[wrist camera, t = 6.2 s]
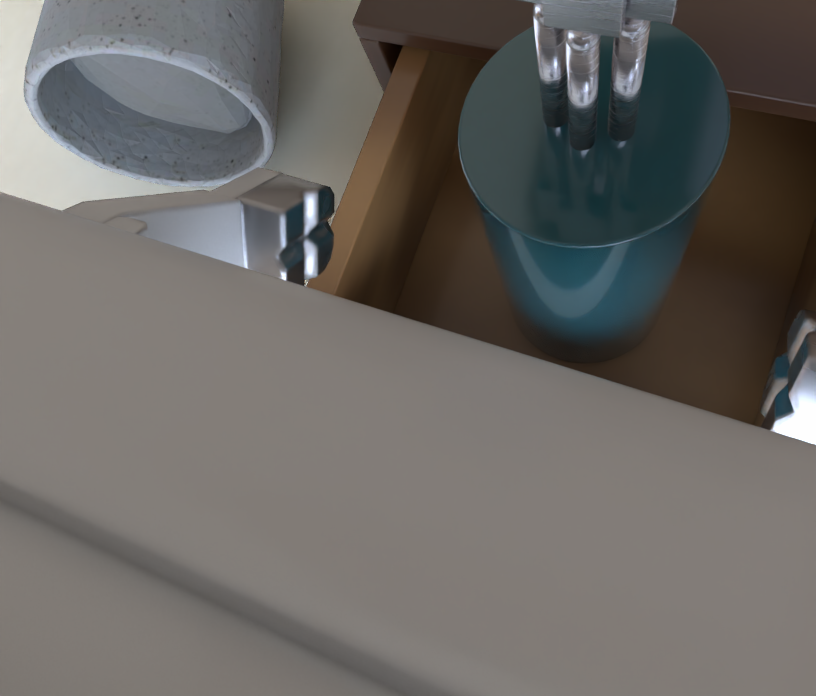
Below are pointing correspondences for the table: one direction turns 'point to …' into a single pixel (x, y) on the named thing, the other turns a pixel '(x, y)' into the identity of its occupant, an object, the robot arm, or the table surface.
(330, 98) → the table surface
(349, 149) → the table surface
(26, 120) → the table surface
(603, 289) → the cutlery cup
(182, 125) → the ceramic mug
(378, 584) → the robot arm
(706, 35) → the cabinet
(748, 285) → the drawer
